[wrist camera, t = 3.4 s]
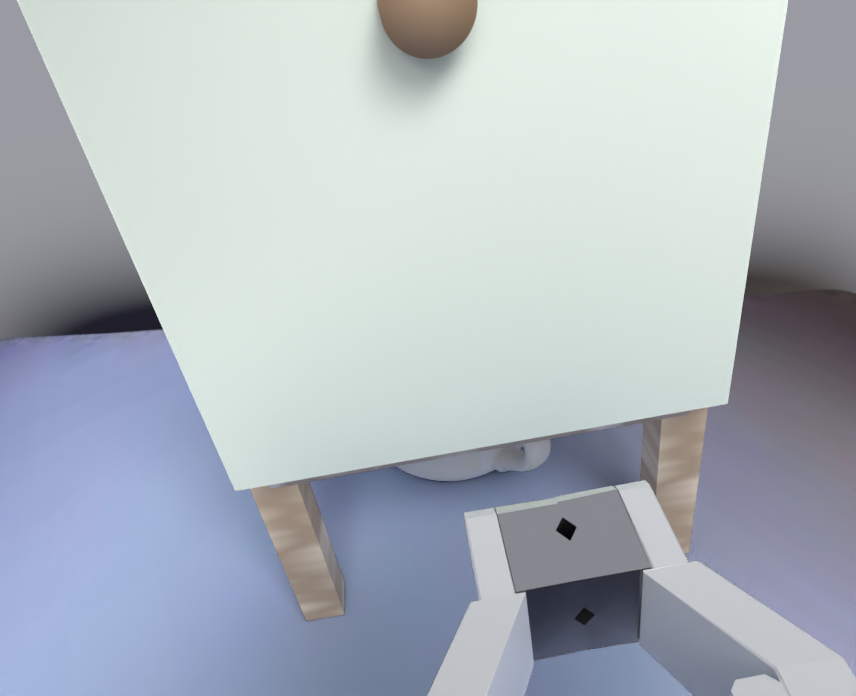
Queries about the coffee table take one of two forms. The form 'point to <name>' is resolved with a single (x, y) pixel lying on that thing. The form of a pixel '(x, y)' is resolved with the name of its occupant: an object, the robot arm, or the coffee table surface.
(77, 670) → the coffee table surface
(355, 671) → the coffee table surface
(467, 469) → the teacup
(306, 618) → the stand
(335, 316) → the lid
